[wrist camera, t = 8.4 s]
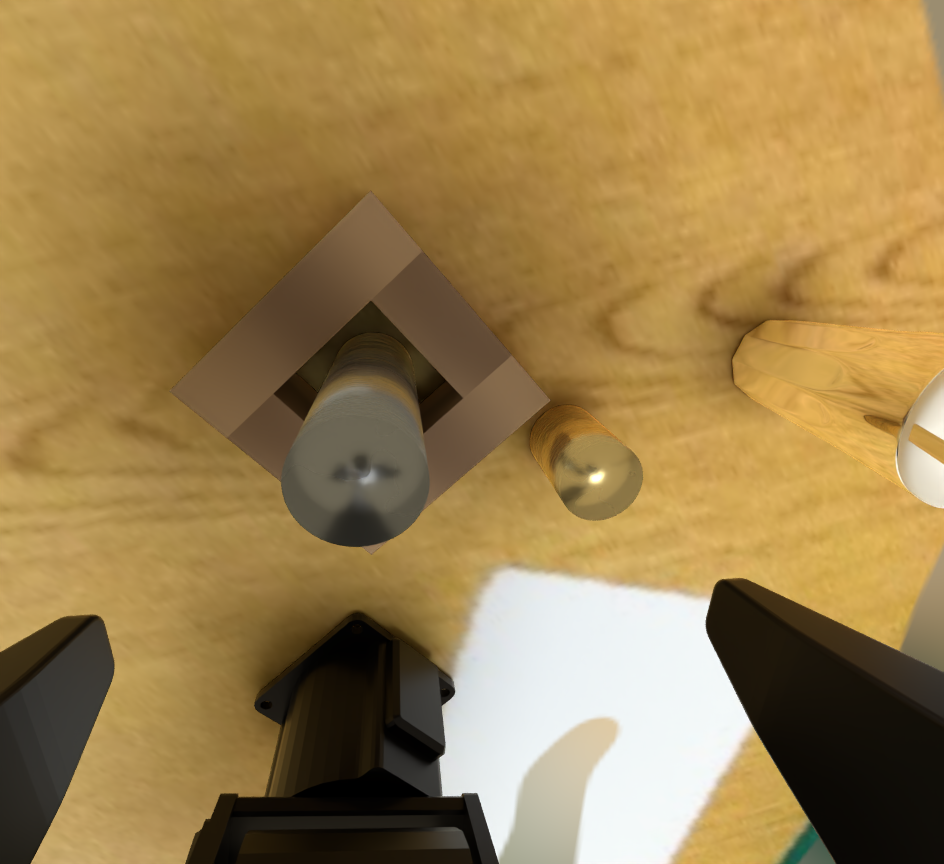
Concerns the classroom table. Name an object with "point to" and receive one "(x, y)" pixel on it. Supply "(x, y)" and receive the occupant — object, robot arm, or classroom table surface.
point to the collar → (328, 310)
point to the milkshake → (856, 393)
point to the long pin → (360, 448)
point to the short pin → (585, 463)
